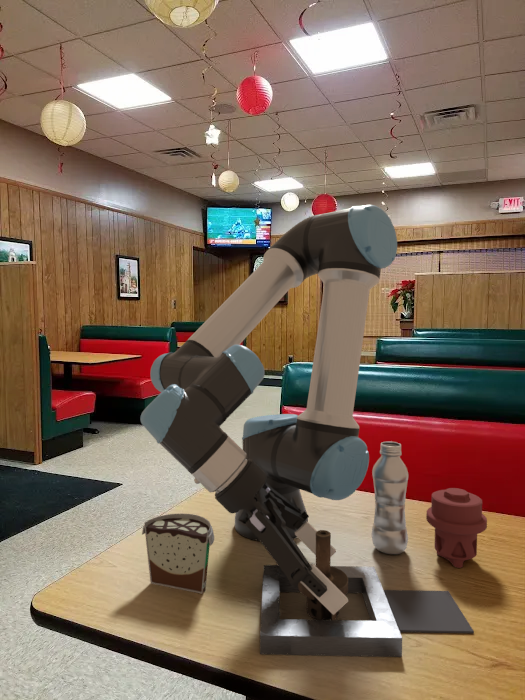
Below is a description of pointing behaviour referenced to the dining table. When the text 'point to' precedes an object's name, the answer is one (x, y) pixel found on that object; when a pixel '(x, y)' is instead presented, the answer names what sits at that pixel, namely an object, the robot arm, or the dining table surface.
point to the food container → (178, 550)
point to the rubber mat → (426, 612)
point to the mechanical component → (456, 524)
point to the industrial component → (332, 573)
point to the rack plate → (329, 621)
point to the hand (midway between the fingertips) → (334, 579)
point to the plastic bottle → (390, 500)
